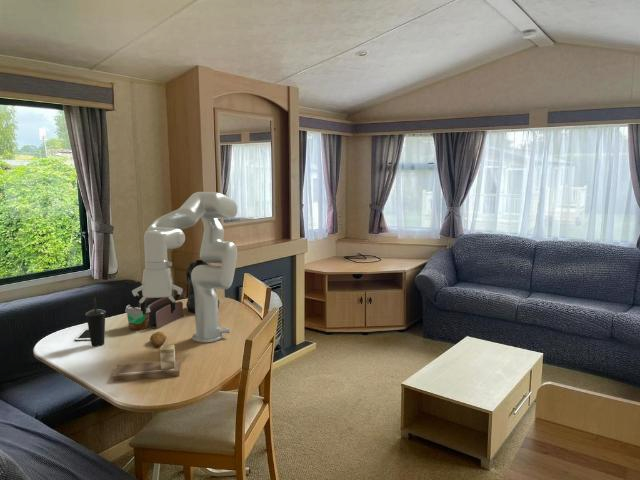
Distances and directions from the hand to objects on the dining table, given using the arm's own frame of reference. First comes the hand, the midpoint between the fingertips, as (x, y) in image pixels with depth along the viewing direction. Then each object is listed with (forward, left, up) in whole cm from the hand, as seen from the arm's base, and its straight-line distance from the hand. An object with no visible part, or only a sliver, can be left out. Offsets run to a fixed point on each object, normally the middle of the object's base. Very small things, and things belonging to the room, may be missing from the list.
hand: (158, 312), depth 178 cm
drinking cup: (+27, -32, -22) cm, 47 cm away
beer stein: (-14, -74, -22) cm, 78 cm away
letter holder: (+4, -57, -22) cm, 61 cm away
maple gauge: (-3, +2, -19) cm, 20 cm away
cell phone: (+33, -45, -22) cm, 60 cm away
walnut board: (+4, +2, -21) cm, 22 cm away
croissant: (+3, -29, -22) cm, 36 cm away
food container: (+15, -49, -22) cm, 55 cm away
